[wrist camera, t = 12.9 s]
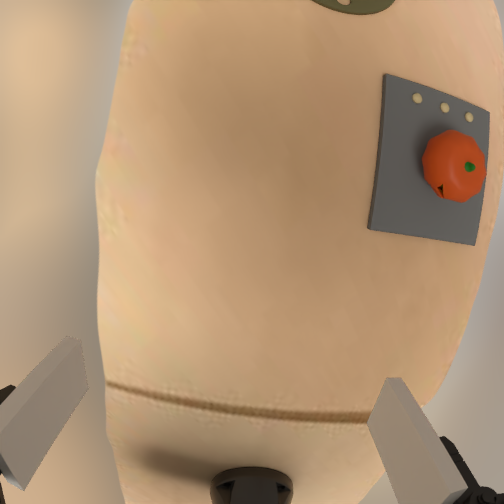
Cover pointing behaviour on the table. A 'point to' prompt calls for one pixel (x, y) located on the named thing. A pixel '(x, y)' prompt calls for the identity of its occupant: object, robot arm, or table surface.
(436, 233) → the mat
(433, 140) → the pumpkin
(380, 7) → the flange
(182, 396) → the table surface
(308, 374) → the table surface
